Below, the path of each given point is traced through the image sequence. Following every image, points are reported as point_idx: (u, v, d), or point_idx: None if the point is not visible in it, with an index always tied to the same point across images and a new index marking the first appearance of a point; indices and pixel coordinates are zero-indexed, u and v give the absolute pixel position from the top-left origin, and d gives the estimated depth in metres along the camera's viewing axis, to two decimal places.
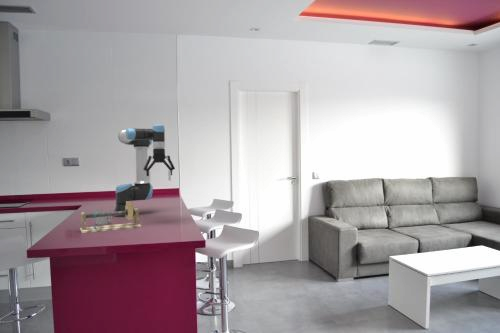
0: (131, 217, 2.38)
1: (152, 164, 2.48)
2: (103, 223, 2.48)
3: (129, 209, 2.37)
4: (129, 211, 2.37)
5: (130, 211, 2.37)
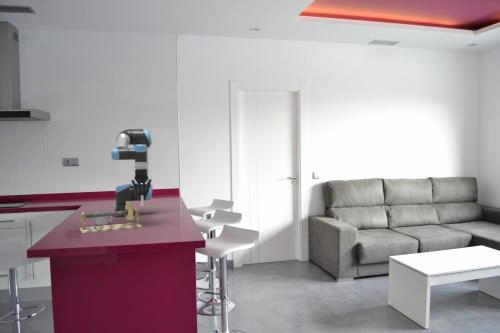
0: (131, 217, 2.38)
1: (139, 187, 2.42)
2: (103, 223, 2.48)
3: (129, 209, 2.37)
4: (129, 211, 2.37)
5: (130, 211, 2.37)
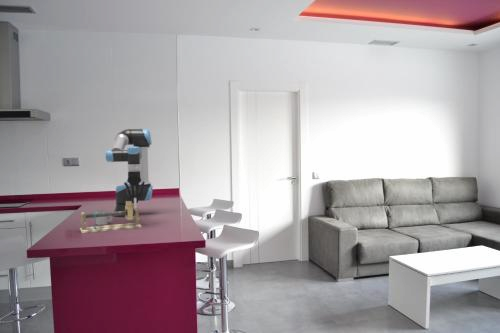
0: (131, 217, 2.37)
1: (132, 189, 2.40)
2: (103, 223, 2.48)
3: (129, 209, 2.37)
4: (129, 211, 2.37)
5: (130, 211, 2.37)
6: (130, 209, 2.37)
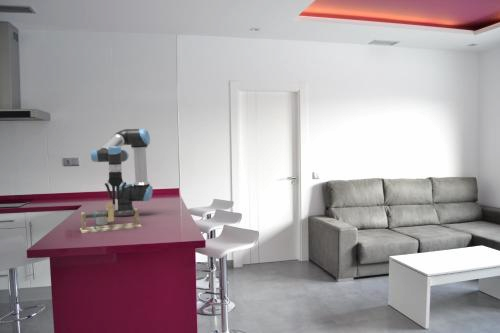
0: (112, 219, 2.32)
1: (113, 190, 2.35)
2: (103, 223, 2.48)
3: (109, 211, 2.31)
4: (110, 212, 2.31)
5: (111, 213, 2.32)
6: (111, 211, 2.32)
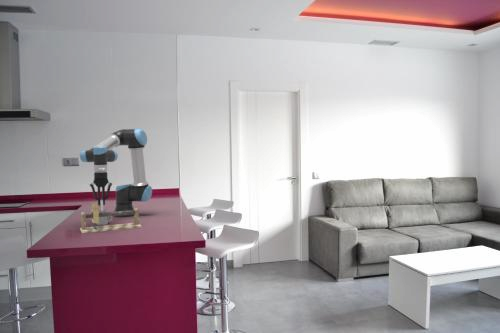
0: (97, 220, 2.28)
1: (99, 191, 2.31)
2: (103, 223, 2.48)
3: (94, 212, 2.27)
4: (95, 213, 2.27)
5: (96, 214, 2.27)
6: (96, 212, 2.27)
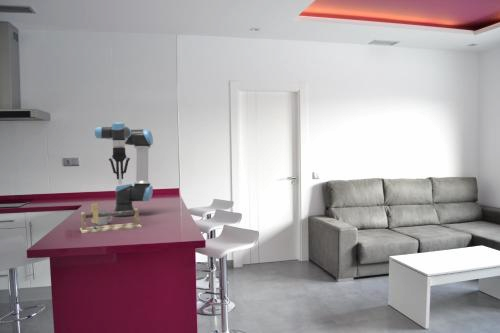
0: (96, 220, 2.28)
1: (117, 165, 2.41)
2: (103, 223, 2.48)
3: (94, 212, 2.27)
4: (94, 213, 2.27)
5: (95, 214, 2.27)
6: (95, 212, 2.27)
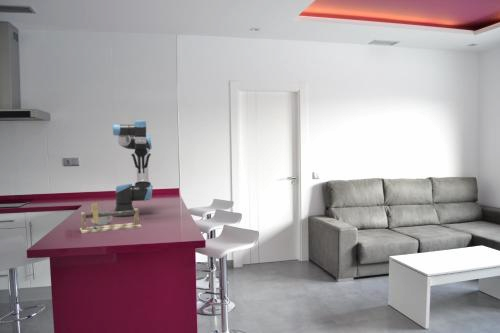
0: (96, 220, 2.28)
1: (139, 160, 2.58)
2: (103, 223, 2.48)
3: (94, 212, 2.27)
4: (94, 213, 2.27)
5: (95, 214, 2.27)
6: (95, 212, 2.27)
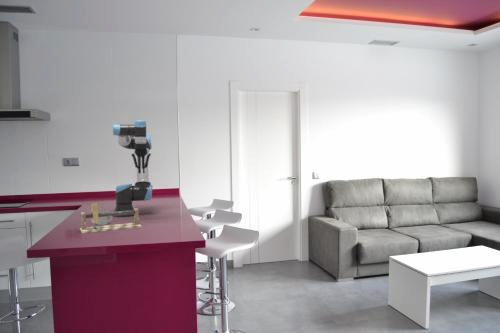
0: (96, 220, 2.28)
1: (139, 160, 2.58)
2: (103, 223, 2.48)
3: (94, 212, 2.27)
4: (94, 213, 2.27)
5: (95, 214, 2.27)
6: (95, 212, 2.27)
